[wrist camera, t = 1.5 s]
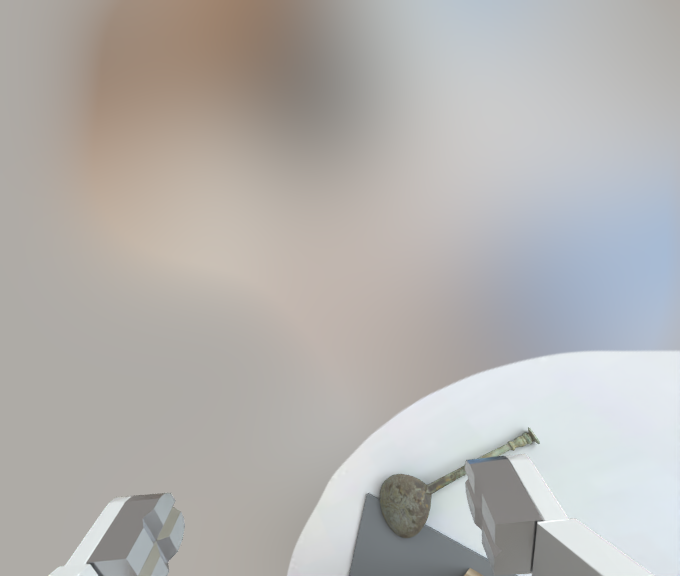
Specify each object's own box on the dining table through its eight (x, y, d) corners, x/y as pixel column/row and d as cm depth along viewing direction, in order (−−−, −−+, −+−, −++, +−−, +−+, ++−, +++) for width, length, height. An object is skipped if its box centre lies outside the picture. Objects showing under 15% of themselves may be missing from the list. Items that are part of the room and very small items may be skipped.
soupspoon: (375, 486, 44) (397, 541, 41) (363, 490, 42) (386, 550, 38) (517, 407, 38) (559, 465, 34) (513, 407, 35) (558, 470, 32)
